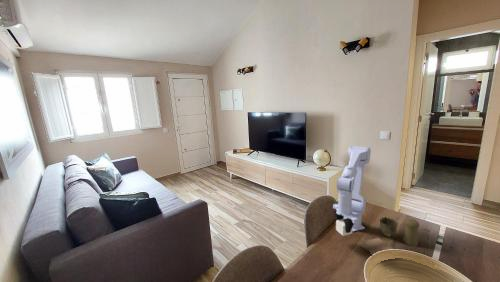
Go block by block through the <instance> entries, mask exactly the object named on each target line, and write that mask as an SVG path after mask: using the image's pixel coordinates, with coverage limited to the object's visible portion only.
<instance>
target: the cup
mask: <svg viewBox="0 0 500 282" xmlns="http://www.w3.org/2000/svg"><path fill="white" fill-rule="evenodd" d="M398 224H399V222H397V220H395V219H393V218H390V217H387V216H384V217H382V216H381V218H380V219H379V227H380V230H381V231H382V234H383V235H384V236H385V237H387V238H391V237H392V236H393V235H394V234H395V233H396V232H397V228H398Z"/></svg>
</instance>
